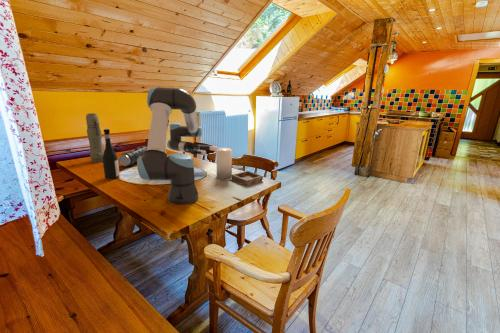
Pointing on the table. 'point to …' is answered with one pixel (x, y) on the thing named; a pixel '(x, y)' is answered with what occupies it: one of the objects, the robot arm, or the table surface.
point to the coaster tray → (247, 178)
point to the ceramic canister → (224, 162)
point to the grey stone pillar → (94, 138)
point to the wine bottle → (110, 159)
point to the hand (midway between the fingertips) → (212, 151)
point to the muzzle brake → (131, 156)
